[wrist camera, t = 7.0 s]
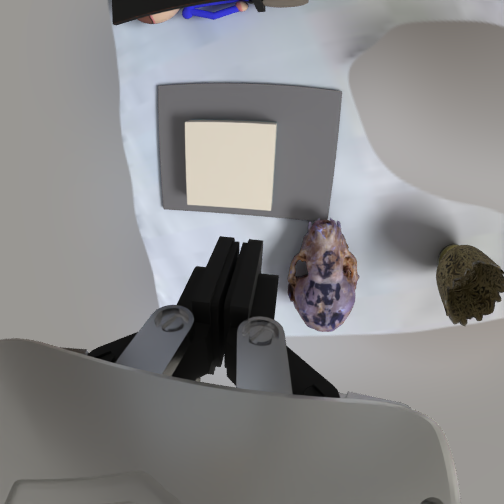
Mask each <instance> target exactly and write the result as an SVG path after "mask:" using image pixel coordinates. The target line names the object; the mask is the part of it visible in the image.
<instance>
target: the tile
mask: <svg viewBox="0 0 504 504" xmlns="http://www.w3.org/2000/svg"><path fill="white" fill-rule="evenodd" d="M276 136H277V122H268V121H249V120H214V119H192V120H189V121H186V122H185V155H186V185H187V205H199V206H214V207H229V208H242V209H255V210H267V211H271V208H272V201H273V186H274V170H275V153H276Z"/></svg>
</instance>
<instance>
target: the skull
mask: <svg viewBox="0 0 504 504" xmlns="http://www.w3.org/2000/svg"><path fill="white" fill-rule="evenodd" d="M330 220H331V221H329V220H320V218H319V219H318V220H317V221H315V222H314V224H313V225H312V223H311V221H310V222H309V225H308V233H307V234H306V235H305V236H304V238H303V244H302V247H301V250H300V252H299V253H298V254H297V255H296V256H294V259H293V260H292V262H291V265H290V270H289V275H288V282H289V285H288V295H289V298H290V301H292V302H293V301H294V306H295V308H296V309H297V311H298V313H299V314H300V316H301V318H302V319H303V321H304V322H305V324H306V325H307V326H308V327H310V328H313V329H315V330H317V331H322V332H324V331H326V332H330V331H334V330H335V329H336V328H338V327H339V326H341V325H342V324H343V323H344V321H345V320H346V318H347V317H348V315H349V314H350V312H351V310H352V308H353V305H354V302H355V289H356V285H357V280H358V279H359V275H358V274H357V260H356V258H355V257H354V255H353V254H352V253H351V252H349V250H348V248H349V247H348V245H347V243H346V240H345V237H344V235H343V234H342V233H341V225H340V222H339V221H337V225H336V223H335V221H334V220H332V219H331V218H330ZM298 260H301V261H302V262H303V261H305V262H306V264H307V270H308V275H304V276H302V277H297V276H295V273H296V268H295V265H296V263H297V261H298ZM343 271H344V272H345V273H343ZM350 272H351V273H350Z"/></svg>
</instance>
